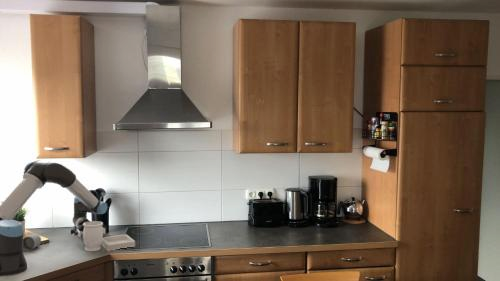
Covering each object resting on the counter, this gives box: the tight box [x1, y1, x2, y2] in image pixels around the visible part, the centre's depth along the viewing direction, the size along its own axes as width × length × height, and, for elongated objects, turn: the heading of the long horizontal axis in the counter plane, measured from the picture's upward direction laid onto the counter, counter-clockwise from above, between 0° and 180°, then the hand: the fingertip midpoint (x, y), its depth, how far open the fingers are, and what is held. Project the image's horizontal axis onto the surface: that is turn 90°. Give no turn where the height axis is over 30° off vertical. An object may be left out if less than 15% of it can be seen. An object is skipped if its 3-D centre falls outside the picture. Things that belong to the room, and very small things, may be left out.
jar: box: [82, 220, 104, 252], centre depth 243 cm, size 11×10×15 cm
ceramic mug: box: [23, 233, 42, 251], centre depth 243 cm, size 11×8×8 cm
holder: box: [100, 234, 136, 252], centre depth 252 cm, size 15×16×4 cm
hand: (92, 233), depth 246 cm, fingers open, 13 cm apart
